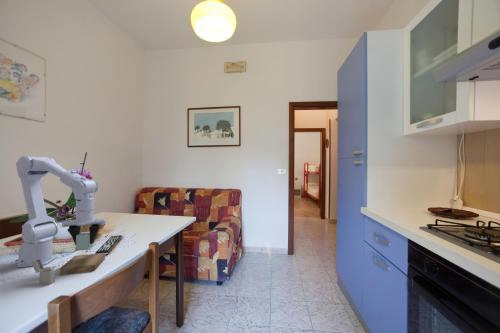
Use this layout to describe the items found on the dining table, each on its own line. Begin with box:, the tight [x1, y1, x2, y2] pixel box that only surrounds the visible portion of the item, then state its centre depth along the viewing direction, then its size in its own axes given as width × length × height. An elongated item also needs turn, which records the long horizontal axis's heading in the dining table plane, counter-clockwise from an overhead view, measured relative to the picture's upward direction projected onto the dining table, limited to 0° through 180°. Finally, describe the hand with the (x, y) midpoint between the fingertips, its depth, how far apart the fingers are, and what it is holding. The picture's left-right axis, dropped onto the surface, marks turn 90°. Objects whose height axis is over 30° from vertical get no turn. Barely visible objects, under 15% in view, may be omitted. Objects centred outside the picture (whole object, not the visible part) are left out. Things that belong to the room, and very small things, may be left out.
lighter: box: [31, 259, 56, 285], centre depth 72 cm, size 7×2×8 cm, turn 87°
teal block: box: [75, 231, 95, 252], centre depth 84 cm, size 4×4×6 cm
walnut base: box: [59, 252, 106, 276], centre depth 84 cm, size 11×11×3 cm
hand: (84, 243), depth 84 cm, fingers closed on teal block, 4 cm apart
